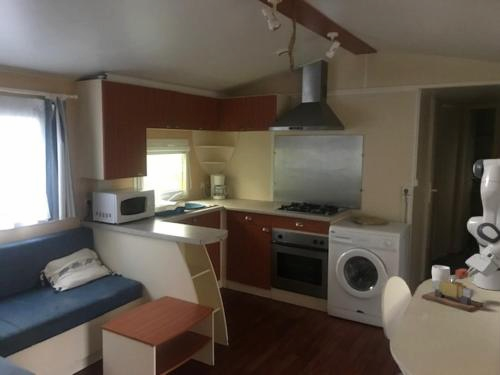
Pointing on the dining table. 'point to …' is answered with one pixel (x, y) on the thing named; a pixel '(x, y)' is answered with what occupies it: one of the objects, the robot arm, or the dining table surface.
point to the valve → (453, 290)
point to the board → (452, 302)
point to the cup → (440, 273)
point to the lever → (459, 274)
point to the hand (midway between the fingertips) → (467, 275)
